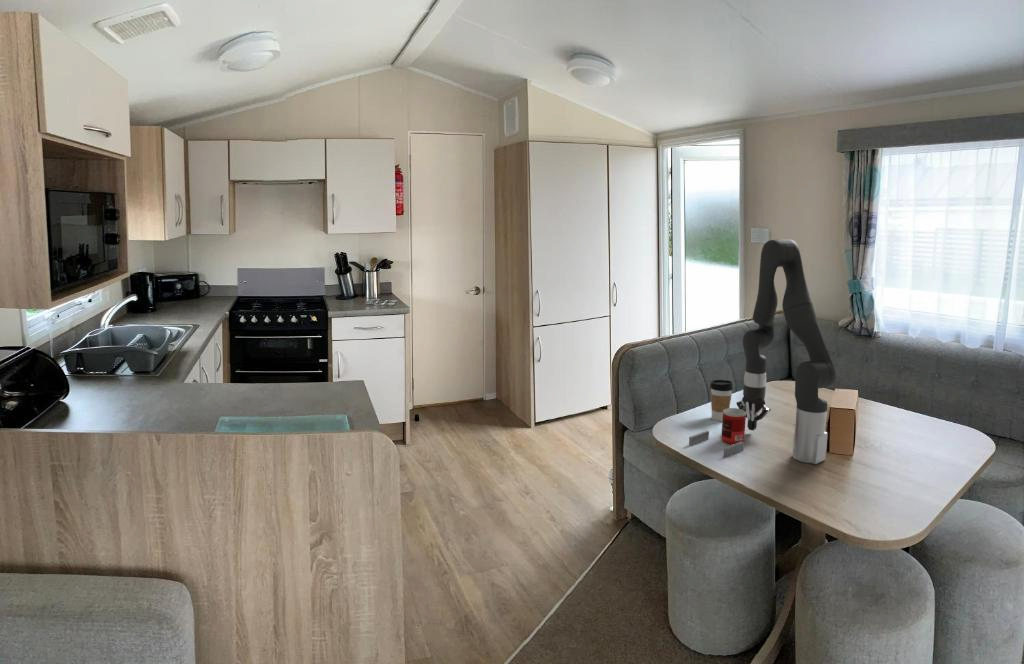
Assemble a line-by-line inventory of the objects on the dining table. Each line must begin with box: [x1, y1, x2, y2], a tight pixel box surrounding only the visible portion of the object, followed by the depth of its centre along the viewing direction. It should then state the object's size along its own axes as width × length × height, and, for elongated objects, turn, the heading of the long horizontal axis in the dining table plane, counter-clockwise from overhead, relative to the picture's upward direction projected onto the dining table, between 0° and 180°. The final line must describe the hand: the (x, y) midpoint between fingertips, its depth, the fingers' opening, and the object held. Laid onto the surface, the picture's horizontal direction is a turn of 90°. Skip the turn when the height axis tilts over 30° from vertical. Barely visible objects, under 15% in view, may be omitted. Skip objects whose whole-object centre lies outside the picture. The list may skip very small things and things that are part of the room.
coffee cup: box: [709, 379, 734, 422], centre depth 270 cm, size 8×8×15 cm
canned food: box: [720, 407, 747, 445], centre depth 247 cm, size 8×8×11 cm
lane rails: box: [688, 430, 745, 459], centre depth 242 cm, size 15×10×3 cm, turn 40°
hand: (751, 429), depth 256 cm, fingers closed
